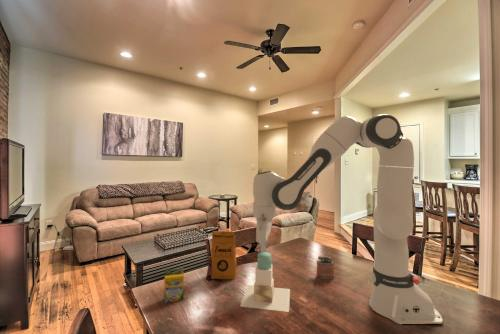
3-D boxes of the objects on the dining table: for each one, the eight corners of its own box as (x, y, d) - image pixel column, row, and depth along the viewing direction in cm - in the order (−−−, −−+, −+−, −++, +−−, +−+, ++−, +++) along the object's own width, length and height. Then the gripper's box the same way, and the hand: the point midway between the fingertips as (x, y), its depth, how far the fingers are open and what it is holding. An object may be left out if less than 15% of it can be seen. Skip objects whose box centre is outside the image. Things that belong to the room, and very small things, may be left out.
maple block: (273, 293, 99) (273, 278, 99) (272, 302, 92) (272, 287, 92) (256, 291, 100) (256, 277, 100) (254, 300, 93) (254, 285, 93)
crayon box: (164, 303, 93) (164, 273, 93) (164, 298, 96) (164, 270, 96) (183, 300, 95) (183, 271, 95) (183, 296, 98) (183, 267, 98)
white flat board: (290, 291, 102) (290, 289, 102) (289, 314, 86) (289, 311, 86) (248, 287, 105) (248, 284, 105) (239, 308, 90) (239, 306, 90)
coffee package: (235, 283, 109) (235, 234, 109) (208, 281, 111) (208, 233, 110) (239, 273, 119) (239, 228, 118) (214, 271, 120) (214, 227, 120)
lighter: (333, 276, 116) (333, 255, 116) (334, 279, 112) (335, 258, 112) (316, 275, 117) (316, 254, 116) (317, 278, 113) (317, 257, 113)
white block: (272, 279, 98) (272, 264, 98) (271, 286, 92) (271, 270, 92) (258, 277, 99) (258, 263, 99) (255, 284, 93) (255, 269, 93)
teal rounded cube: (271, 264, 98) (271, 252, 98) (270, 270, 93) (270, 257, 92) (258, 263, 99) (258, 251, 99) (256, 269, 93) (256, 256, 93)
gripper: (269, 218, 85) (269, 257, 85) (274, 207, 105) (274, 239, 105) (251, 217, 86) (252, 256, 86) (260, 207, 106) (260, 238, 106)
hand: (264, 247), depth 96 cm, fingers open, 8 cm apart
